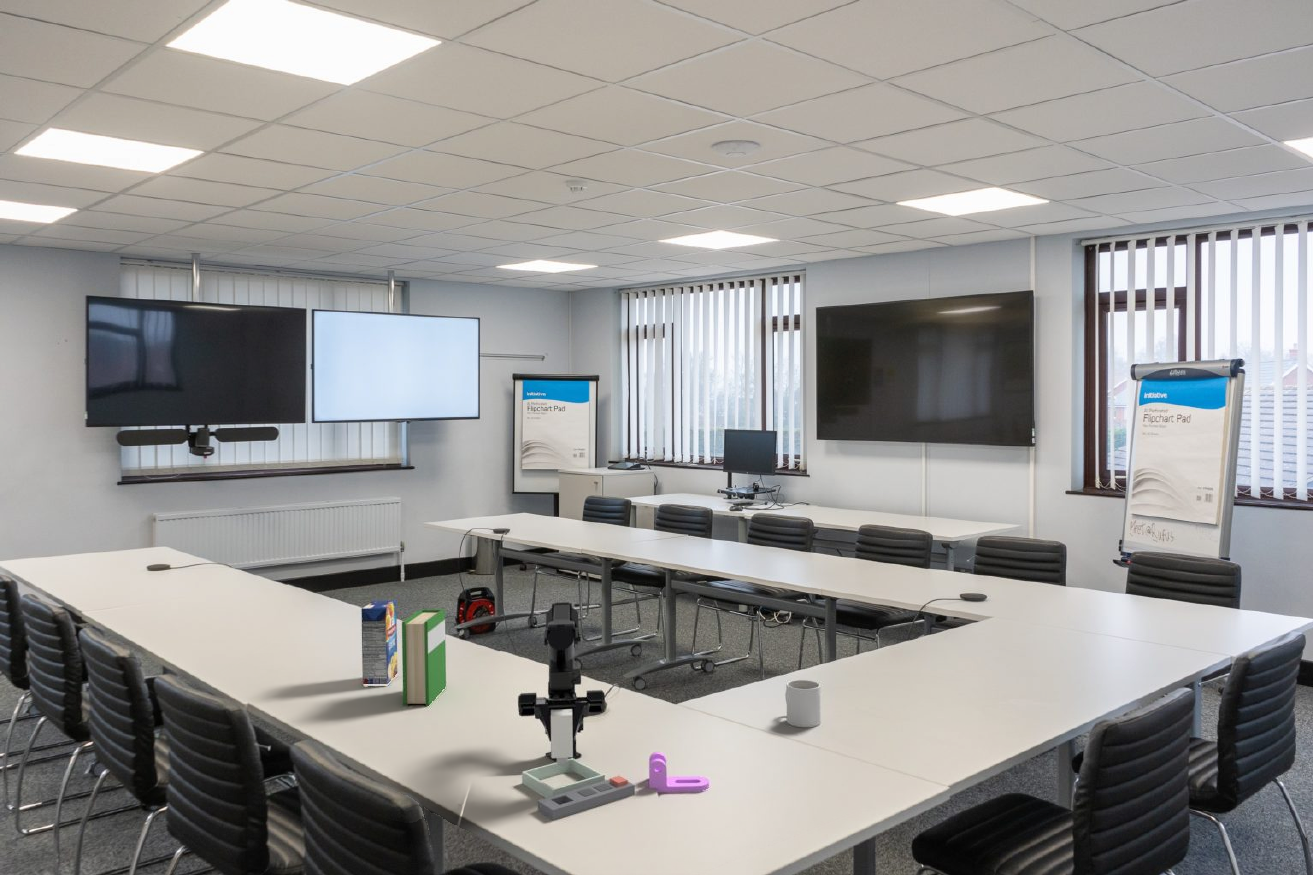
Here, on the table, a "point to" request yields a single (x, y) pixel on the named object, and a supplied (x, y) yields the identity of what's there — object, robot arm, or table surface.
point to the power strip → (586, 797)
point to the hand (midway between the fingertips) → (561, 739)
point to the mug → (803, 703)
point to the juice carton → (379, 642)
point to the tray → (534, 775)
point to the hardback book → (423, 656)
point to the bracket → (672, 778)
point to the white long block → (561, 735)
